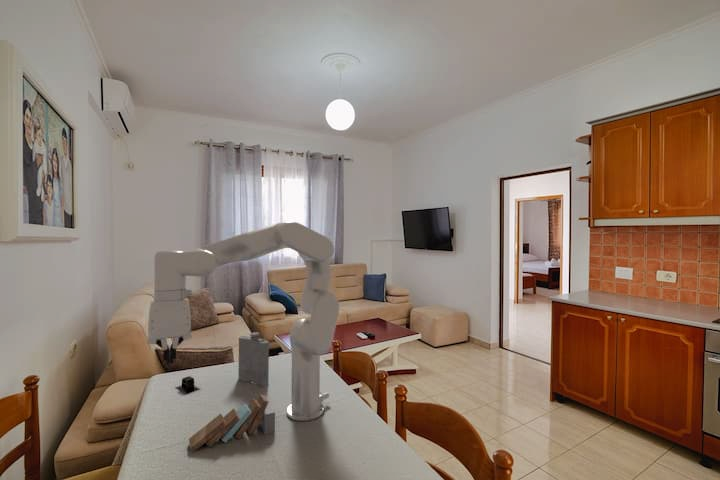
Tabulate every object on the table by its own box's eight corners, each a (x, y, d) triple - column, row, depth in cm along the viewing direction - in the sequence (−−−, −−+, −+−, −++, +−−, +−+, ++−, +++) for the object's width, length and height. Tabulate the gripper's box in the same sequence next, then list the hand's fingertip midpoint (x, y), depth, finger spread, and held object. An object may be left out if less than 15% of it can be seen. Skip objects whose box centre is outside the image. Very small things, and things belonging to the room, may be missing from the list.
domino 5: (250, 426, 107) (264, 395, 109) (253, 434, 102) (268, 401, 104) (245, 425, 106) (259, 394, 108) (249, 434, 101) (264, 400, 104)
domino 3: (223, 434, 102) (247, 405, 106) (225, 443, 98) (251, 412, 102) (219, 431, 102) (244, 402, 105) (221, 440, 98) (247, 409, 101)
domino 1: (191, 442, 98) (223, 417, 102) (193, 452, 94) (226, 425, 98) (188, 438, 98) (220, 413, 102) (190, 448, 93) (223, 421, 98)
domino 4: (236, 430, 104) (256, 400, 108) (240, 438, 100) (261, 407, 103) (232, 428, 104) (252, 398, 107) (235, 436, 100) (256, 404, 103)
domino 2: (207, 438, 100) (236, 411, 104) (210, 447, 96) (239, 419, 100) (204, 435, 100) (233, 408, 104) (206, 443, 95) (236, 415, 100)
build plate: (171, 388, 134) (171, 377, 134) (189, 382, 140) (189, 371, 140) (186, 397, 127) (186, 385, 127) (205, 390, 133) (205, 379, 133)
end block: (267, 419, 111) (267, 401, 111) (274, 431, 104) (275, 412, 104) (258, 422, 109) (258, 403, 109) (265, 434, 102) (265, 414, 102)
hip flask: (236, 379, 143) (237, 331, 143) (244, 375, 146) (244, 329, 146) (264, 387, 135) (264, 337, 135) (271, 383, 138) (272, 334, 138)
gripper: (198, 291, 100) (198, 354, 100) (138, 295, 92) (137, 363, 92) (201, 295, 93) (201, 362, 94) (136, 300, 86) (136, 372, 86)
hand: (169, 362), depth 93 cm, fingers closed
